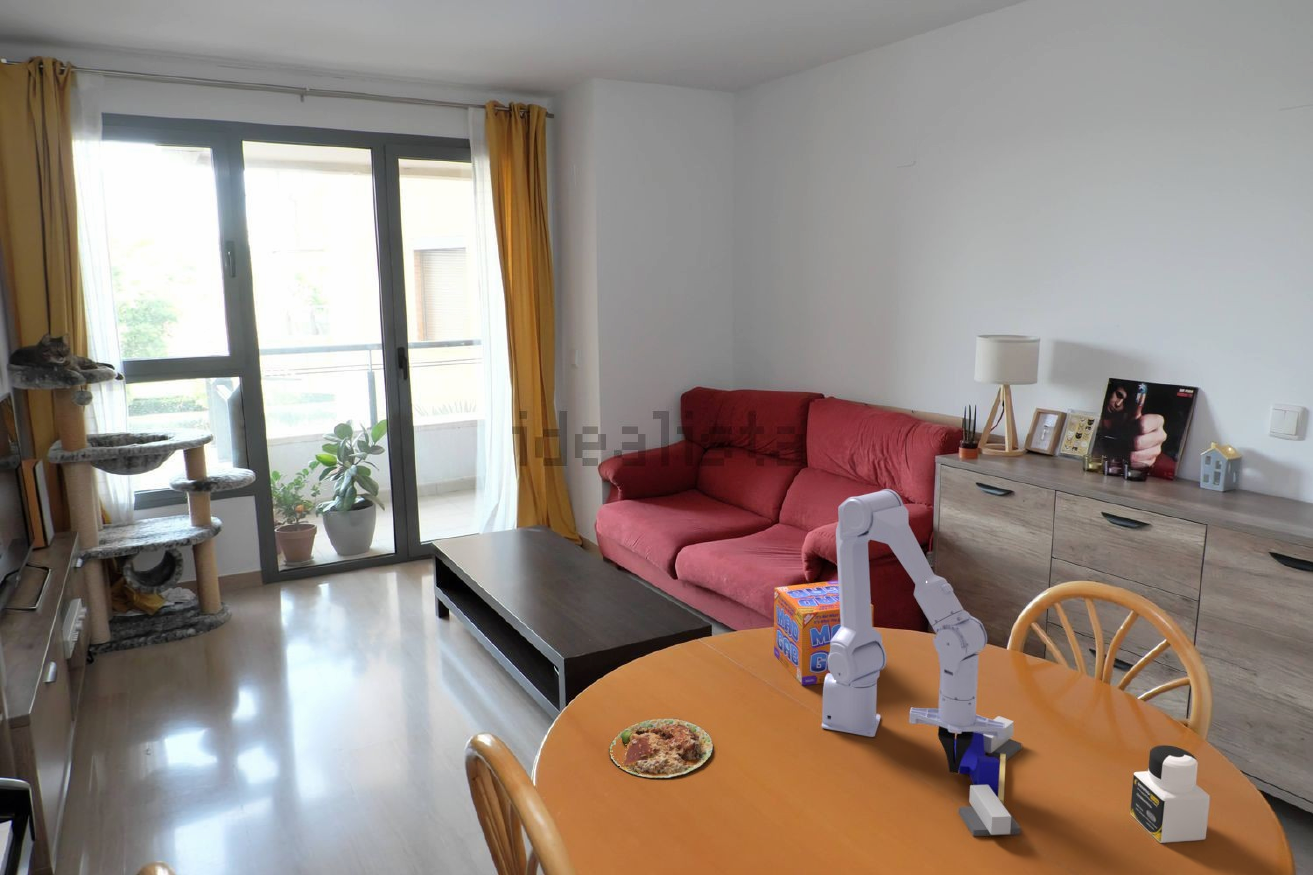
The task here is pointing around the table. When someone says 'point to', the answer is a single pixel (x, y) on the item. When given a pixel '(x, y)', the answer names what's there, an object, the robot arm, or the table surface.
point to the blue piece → (980, 764)
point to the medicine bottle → (1170, 797)
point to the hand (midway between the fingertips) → (954, 769)
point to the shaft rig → (986, 806)
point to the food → (663, 747)
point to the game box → (806, 628)
